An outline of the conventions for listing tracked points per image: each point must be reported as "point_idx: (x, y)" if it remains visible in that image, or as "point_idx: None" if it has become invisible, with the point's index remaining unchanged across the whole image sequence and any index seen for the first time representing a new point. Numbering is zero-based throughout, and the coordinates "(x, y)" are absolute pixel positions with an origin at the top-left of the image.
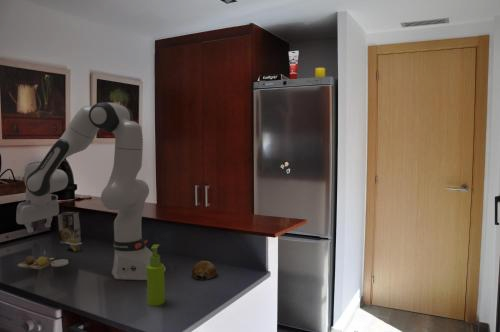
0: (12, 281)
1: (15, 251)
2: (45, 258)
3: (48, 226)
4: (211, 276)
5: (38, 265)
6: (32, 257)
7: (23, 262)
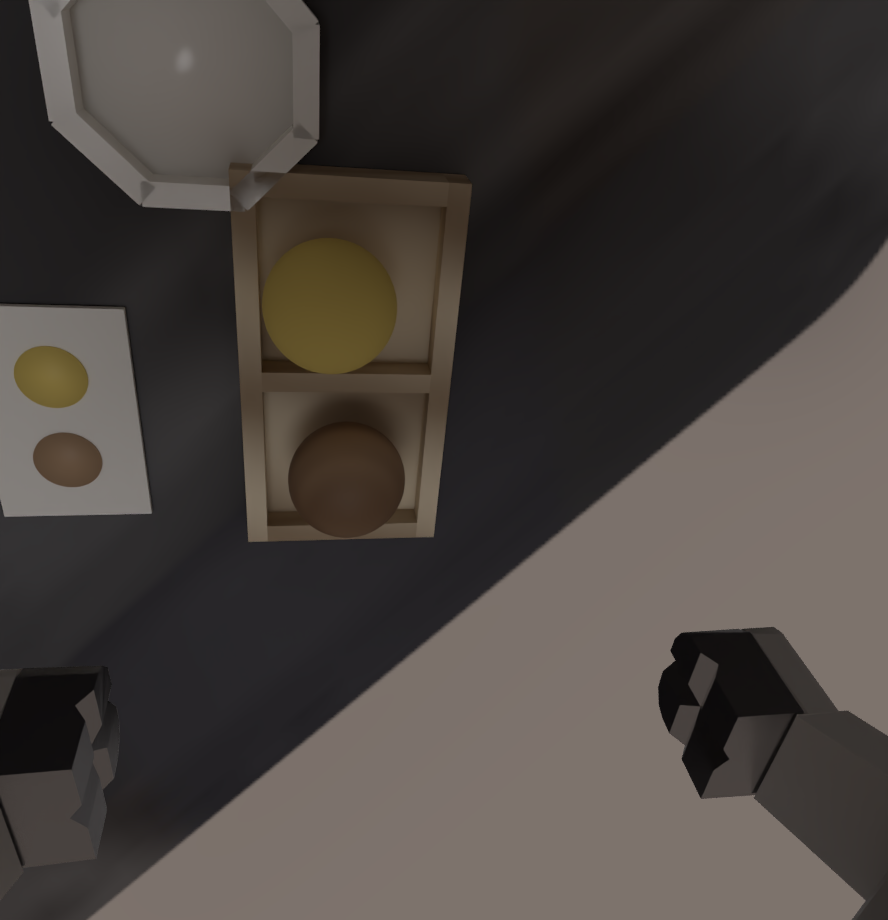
0: (844, 221)
1: None
2: (316, 271)
3: (81, 677)
4: None
5: None
6: (345, 468)
7: None
